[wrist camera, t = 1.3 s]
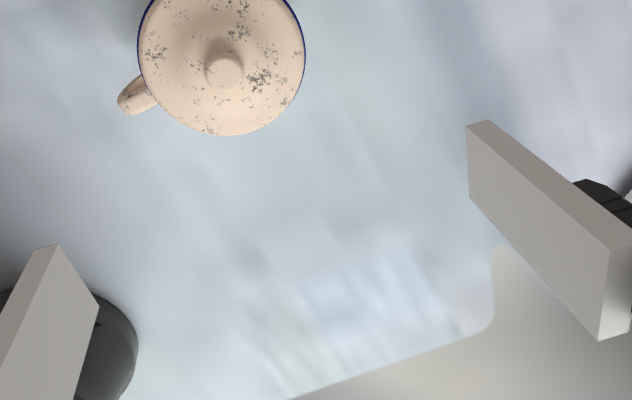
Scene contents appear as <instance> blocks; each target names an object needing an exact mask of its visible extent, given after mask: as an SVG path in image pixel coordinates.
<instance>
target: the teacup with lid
mask: <svg viewBox="0 0 632 400" xmlns="http://www.w3.org/2000/svg"><path fill="white" fill-rule="evenodd" d="M137 57H138V63H139V67H140V71H141V74H140V75H139V76H137V77H136V78H135V79H134V80H133V81H131V82H130V83H129V84H128V85H127V86H126V87H125V88H124V89H123V90H122V92H121V93H120V94H119V96H118V99H117V103H118V105H119V107H120V108H121V109H122V110H123V111H124V112H125V113H126V114H128V115H134V114H138V113H141V112H143V111H145V110H147V109H149V108H151V107H153V106H155V105H156V104H159V105H160V106H161V107H162V108H163V109H164V110H165V111H166V112H167V113H168V114H169V115H171V116H172V117H173V118H174V119H176V120H177V121H179V122H180V123H182V124H184V125H185V126H187V127H190V128H192V129H194V130H197V131H200V132H203V133H207V134H212V135H221V136H231V135H239V134H245V133H248V132H252V131H254V130H257V129H259V128H261V127H263V126H265V125H267V124H268V123H270V122H272V121H273V120H274V119H275V118H277V117H278V116H279V115H280V114H281V113H282V112H283V111H284V110H285V109H286V108H287V107H288V106H289V104H290V103H291V101H292V100H293V98H294V97H295V95H296V93H297V91H298V89H299V87H300V84H301V82H302V79H303V75H304V70H305V61H306V50H305V42H304V37H303V33H302V29H301V26H300V24H299V21H298V19H297V17H296V15H295V13H294V12H293V10H292V8H291V7H290V5H289V4H288V3H287V1H286V0H151V2H150V3H149V5H148V7H147V8H146V10H145V12H144V15H143V17H142V19H141V23H140V26H139V30H138V36H137Z"/></svg>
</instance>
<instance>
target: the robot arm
mask: <svg viewBox="0 0 632 400" xmlns="http://www.w3.org/2000/svg"><path fill="white" fill-rule="evenodd" d="M465 129H466V146H467V163H468V179H469V196H470V199H471V200H472V201H473V202H474V203H475V204H476V205H477V206H478V208H479V209H480V210H481V211H482V212H483V213H484V214H485V215H486V217H487V218H488V219H489V220H490V221H491V222H492V223H493V224H494V226H495V227H496V228H497V229H498V230H499V231H500V232H501V233H502V235H503V236H504V237H505V238H506V239H507V240H508V241H509V242H510V244H511V245H512V246H513V247H514V248H515V249H516V250H517V251H518V253H519V254H520V255H521V256H522V257H523V258H524V259H525V260H526V262H527V263H528V264H529V265H530V266H531V267H532V268H533V269H534V271H535V272H536V273H537V274H538V275H539V276H540V277H541V278H542V280H543V281H544V282H545V283H546V284H547V285H548V286H549V287H550V288H551V290H552V291H553V292H554V293H555V294H556V295H557V296H558V297H559V299H560V300H561V301H562V302H563V303H564V304H565V305H566V306H567V308H568V309H569V310H570V311H571V312H572V313H573V314H574V315H575V317H576V318H577V319H578V320H579V321H580V322H581V323H582V324H583V326H584V327H585V328H586V329H587V330H588V331H589V332H590V333H591V335H593V337H594V338H595V339H596V340H597V341H600V340H604V339H607V338H610V337H613V336H617V335H620V334H623V333H626V332H629V327H630V322H631V316H632V203H630V202H629V201H627V200H626V199H622V196H620V195H619V194H617V193H616V192H615V191H613V190H612V189H610V188H609V187H607V186H605V185H603V184H600V183H597V182H594V181H591V180H588V179H584V180H581V181H577V182H574V183H571V182H570V181H568V180H567V179H566V178H564V177H563V176H562V175H561V174H559V173H558V172H557V171H555V170H554V169H553V168H551V167H550V166H549V165H547V164H546V163H545V162H543V161H542V160H541V159H540V158H538V157H537V156H536V155H534V154H533V153H532V152H530V151H529V150H528V149H526V148H525V147H524V146H523V145H521V144H520V143H519V142H517V141H516V140H515V139H513V138H512V137H511V136H509V135H508V134H507V133H505V132H504V131H503V130H502V129H500V128H499V127H498V126H496V125H495V124H494V123H492V122H491V121H490V120H484V121H481V122H477V123H474V124H470V125H467V126H465ZM137 354H138V341H137V336H136V333H135V331H134V329H133V327H132V325H131V324H130V322H129V321H128V320H127V318H126V317H125V316H124V315H123V314H122V313H121V312H120V311H119V310H117V309H116V308H115V307H113V306H112V305H111V304H109V303H107V302H106V301H104V300H102V299H100V298H98V297H96V296H94V295H92V294H91V293H90V291H89V290H88V288H87V286H86V285H85V283H84V282H83V280H82V279H81V277H80V276H79V274H78V273H77V271H76V269H75V268H74V266H73V265H72V263H71V262H70V260H69V259H68V257H67V256H66V254H65V253H64V251H63V249H62V248H61V246H60V245H59V243H58V244H54V245H51V246H47V247H44V248H40V249H37V250H34V251H33V253H32V255H31V257H30V259H29V261H28V263H27V264H26V266H25V268H24V270H23V272H22V274H21V276H20V278H19V280H18V282H17V283H16V285H15V287H14V289H11V290H7V291H4V292H1V293H0V400H119V398H120V396H121V395H122V394H123V392H124V391H125V389H126V388H127V386H128V385H129V383H130V381H131V379H132V377H133V374H134V370H135V365H136V359H137Z"/></svg>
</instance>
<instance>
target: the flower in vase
mask: <svg viewBox="0 0 632 400" xmlns="http://www.w3.org/2000/svg"><path fill="white" fill-rule="evenodd" d="M624 199H626V200H627V201H629V202H630V203H632V189H631V190H630V192H629V193H628V194H627V195H626V196H625V198H624Z"/></svg>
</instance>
